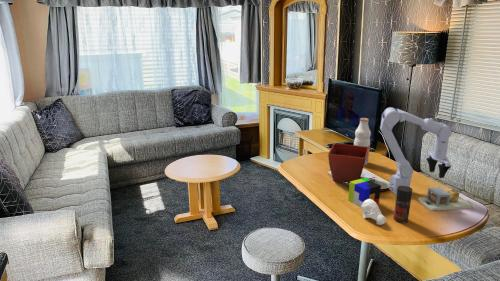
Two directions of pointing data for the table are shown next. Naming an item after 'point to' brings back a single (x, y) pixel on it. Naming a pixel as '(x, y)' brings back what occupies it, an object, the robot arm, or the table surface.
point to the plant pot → (347, 162)
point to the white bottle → (363, 136)
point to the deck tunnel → (442, 193)
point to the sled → (453, 197)
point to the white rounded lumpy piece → (372, 211)
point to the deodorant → (402, 204)
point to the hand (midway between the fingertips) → (436, 174)
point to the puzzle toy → (363, 191)
